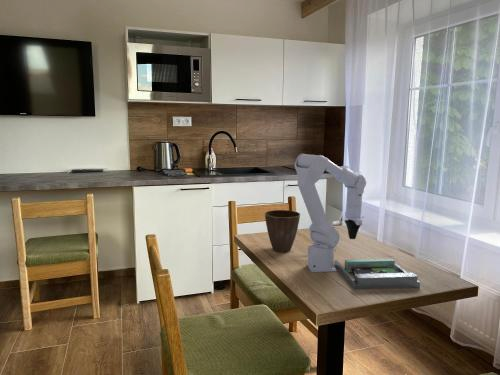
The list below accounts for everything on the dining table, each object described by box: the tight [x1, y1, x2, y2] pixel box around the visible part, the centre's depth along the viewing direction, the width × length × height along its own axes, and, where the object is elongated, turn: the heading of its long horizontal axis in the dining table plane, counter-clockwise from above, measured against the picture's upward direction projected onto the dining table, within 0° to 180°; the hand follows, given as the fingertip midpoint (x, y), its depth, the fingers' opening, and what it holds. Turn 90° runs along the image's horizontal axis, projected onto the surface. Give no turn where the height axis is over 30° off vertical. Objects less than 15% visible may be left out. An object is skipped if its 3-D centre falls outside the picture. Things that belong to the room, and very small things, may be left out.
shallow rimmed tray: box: [333, 259, 421, 290], centre depth 141 cm, size 22×23×4 cm
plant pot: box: [264, 209, 301, 253], centre depth 169 cm, size 15×15×16 cm
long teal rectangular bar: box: [344, 258, 396, 273], centre depth 145 cm, size 18×2×4 cm, turn 95°
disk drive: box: [352, 267, 399, 276], centre depth 139 cm, size 10×3×15 cm
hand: (352, 238), depth 156 cm, fingers closed
